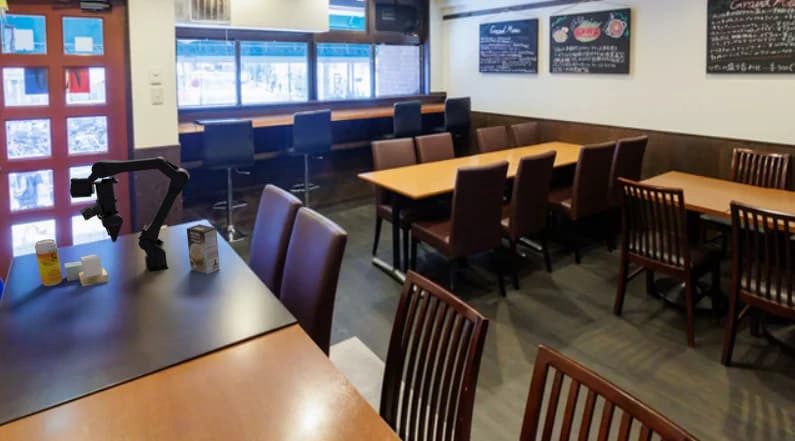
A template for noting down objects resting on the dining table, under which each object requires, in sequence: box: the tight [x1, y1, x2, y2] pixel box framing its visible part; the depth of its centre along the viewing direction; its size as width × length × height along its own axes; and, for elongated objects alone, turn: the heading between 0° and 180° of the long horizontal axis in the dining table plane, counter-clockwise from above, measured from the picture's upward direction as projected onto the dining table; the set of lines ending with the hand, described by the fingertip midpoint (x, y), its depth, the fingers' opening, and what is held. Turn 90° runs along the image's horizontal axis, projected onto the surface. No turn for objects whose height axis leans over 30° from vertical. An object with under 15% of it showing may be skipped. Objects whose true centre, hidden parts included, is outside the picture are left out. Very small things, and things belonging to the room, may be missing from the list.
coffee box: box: [186, 224, 221, 275], centre depth 196 cm, size 9×6×16 cm
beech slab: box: [78, 267, 109, 287], centre depth 187 cm, size 8×8×3 cm
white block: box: [80, 253, 103, 278], centre depth 186 cm, size 5×5×6 cm
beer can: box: [34, 239, 63, 287], centre depth 182 cm, size 6×6×15 cm
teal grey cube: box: [64, 260, 83, 282], centre depth 189 cm, size 5×5×5 cm
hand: (112, 238), depth 192 cm, fingers open, 9 cm apart
